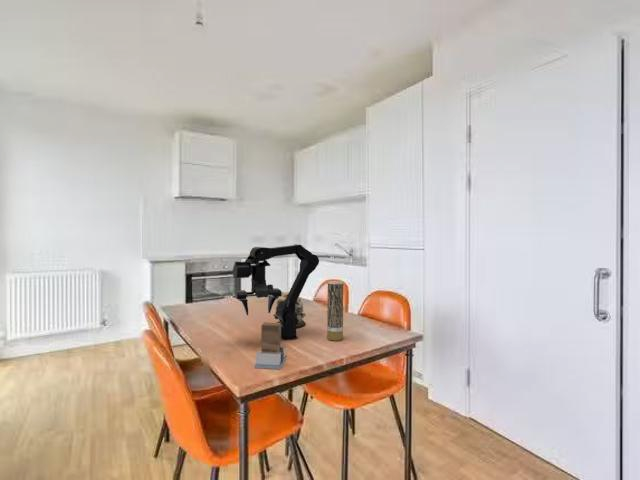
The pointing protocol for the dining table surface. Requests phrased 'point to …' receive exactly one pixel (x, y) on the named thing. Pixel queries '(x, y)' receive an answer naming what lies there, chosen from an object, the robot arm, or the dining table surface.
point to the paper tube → (335, 311)
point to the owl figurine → (298, 310)
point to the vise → (270, 359)
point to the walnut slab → (271, 337)
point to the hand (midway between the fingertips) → (258, 314)
